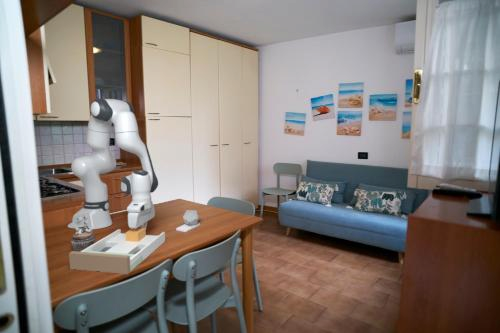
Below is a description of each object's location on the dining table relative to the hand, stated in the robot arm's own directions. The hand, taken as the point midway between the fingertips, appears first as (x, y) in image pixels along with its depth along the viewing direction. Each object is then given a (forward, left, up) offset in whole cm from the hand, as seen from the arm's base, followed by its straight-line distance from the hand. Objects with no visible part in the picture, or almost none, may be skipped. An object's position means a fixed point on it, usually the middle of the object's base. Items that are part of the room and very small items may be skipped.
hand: (143, 231), depth 155 cm
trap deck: (0, -18, -4) cm, 19 cm away
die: (+16, +25, -4) cm, 30 cm away
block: (0, -7, -1) cm, 7 cm away
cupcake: (-20, -16, -4) cm, 26 cm away
